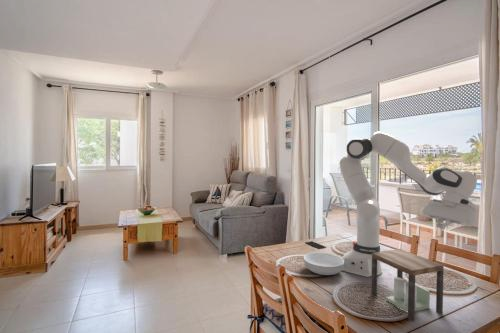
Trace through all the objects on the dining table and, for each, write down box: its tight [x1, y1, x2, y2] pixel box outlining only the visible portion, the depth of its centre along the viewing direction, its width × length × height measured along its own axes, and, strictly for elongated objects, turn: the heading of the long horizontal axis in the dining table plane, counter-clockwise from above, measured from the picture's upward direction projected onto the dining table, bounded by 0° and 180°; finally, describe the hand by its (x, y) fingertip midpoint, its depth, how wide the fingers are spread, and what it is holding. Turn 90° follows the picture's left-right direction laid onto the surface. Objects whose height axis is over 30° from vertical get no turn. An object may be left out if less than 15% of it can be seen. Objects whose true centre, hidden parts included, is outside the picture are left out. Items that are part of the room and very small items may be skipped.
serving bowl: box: [303, 252, 344, 276], centre depth 145 cm, size 21×21×7 cm
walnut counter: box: [370, 248, 445, 322], centre depth 113 cm, size 16×20×19 cm
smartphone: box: [304, 240, 327, 250], centre depth 189 cm, size 7×1×15 cm
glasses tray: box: [386, 276, 431, 312], centre depth 113 cm, size 12×10×10 cm
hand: (439, 228), depth 120 cm, fingers closed
